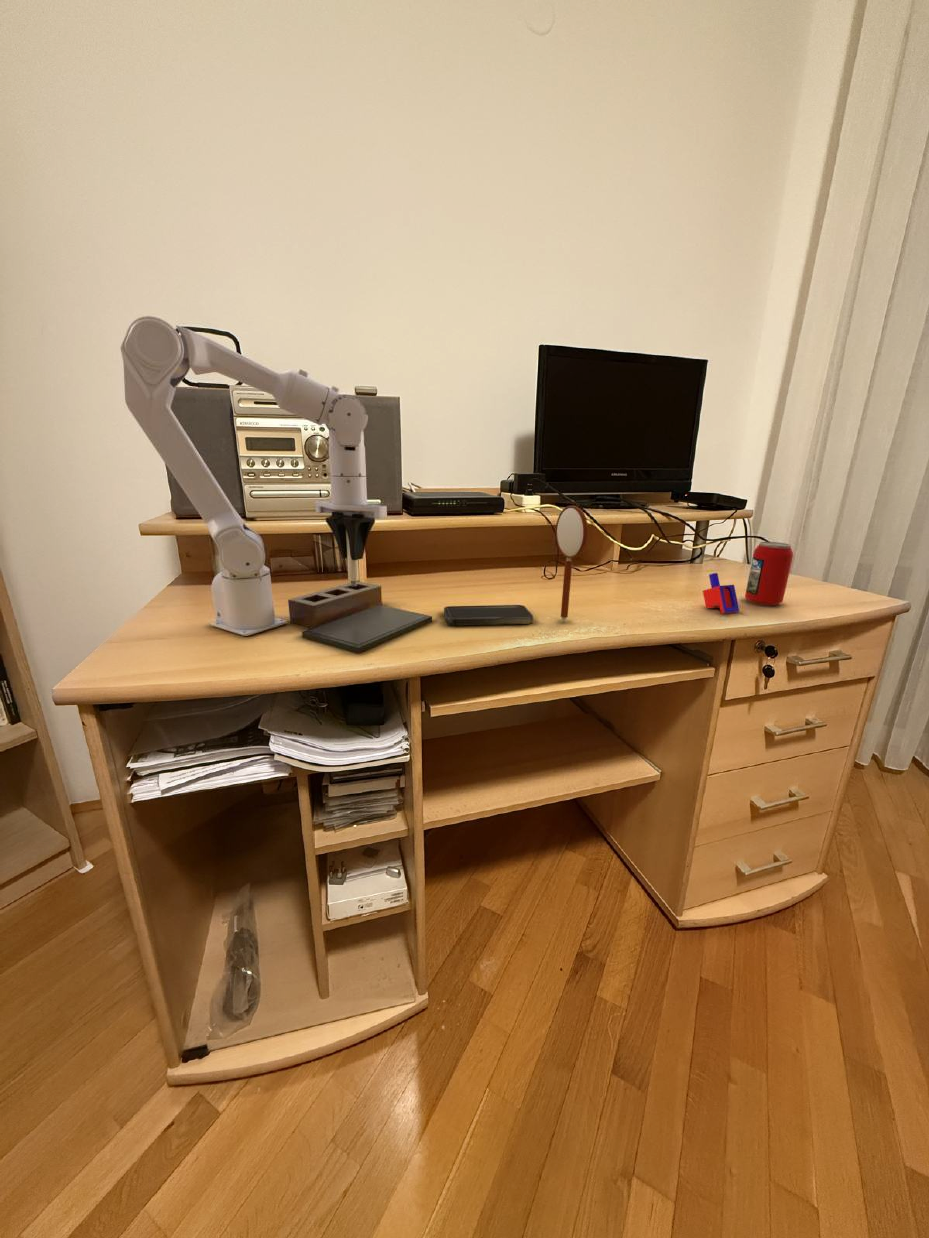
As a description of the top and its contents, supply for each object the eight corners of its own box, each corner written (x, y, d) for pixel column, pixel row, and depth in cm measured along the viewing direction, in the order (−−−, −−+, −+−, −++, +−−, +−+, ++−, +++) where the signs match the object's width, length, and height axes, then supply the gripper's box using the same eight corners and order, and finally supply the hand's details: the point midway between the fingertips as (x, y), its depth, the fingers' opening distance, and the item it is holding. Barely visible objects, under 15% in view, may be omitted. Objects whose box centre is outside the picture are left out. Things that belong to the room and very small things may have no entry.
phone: (443, 606, 89) (523, 604, 91) (443, 612, 90) (523, 610, 92) (447, 619, 82) (534, 617, 84) (447, 626, 82) (534, 623, 84)
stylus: (346, 586, 85) (343, 522, 82) (354, 584, 87) (351, 521, 83) (354, 587, 84) (351, 523, 81) (361, 585, 86) (358, 522, 83)
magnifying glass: (547, 615, 89) (555, 503, 83) (555, 614, 90) (563, 503, 84) (573, 630, 82) (583, 508, 75) (581, 629, 82) (593, 508, 76)
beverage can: (746, 596, 105) (757, 540, 101) (783, 601, 101) (796, 543, 97) (741, 603, 99) (753, 544, 96) (780, 609, 96) (794, 548, 92)
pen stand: (289, 622, 83) (287, 599, 82) (357, 600, 96) (356, 580, 95) (315, 629, 80) (314, 605, 79) (382, 606, 93) (381, 585, 92)
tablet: (302, 637, 76) (301, 631, 76) (379, 609, 91) (379, 604, 91) (358, 654, 70) (358, 647, 70) (432, 621, 85) (432, 615, 84)
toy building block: (722, 615, 96) (714, 576, 97) (739, 611, 92) (731, 570, 93) (707, 616, 95) (699, 577, 96) (724, 612, 91) (716, 571, 92)
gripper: (398, 477, 79) (400, 559, 84) (335, 474, 87) (339, 550, 91) (368, 478, 74) (371, 566, 78) (303, 475, 81) (309, 556, 85)
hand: (352, 558), depth 84 cm, fingers closed on stylus, 2 cm apart
